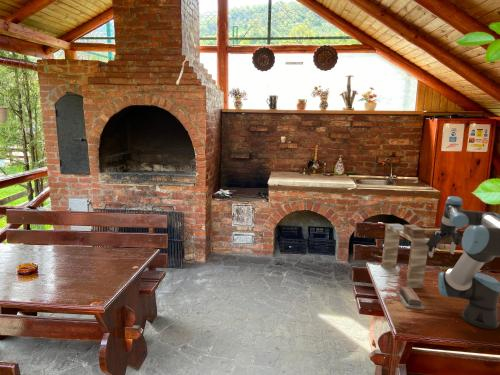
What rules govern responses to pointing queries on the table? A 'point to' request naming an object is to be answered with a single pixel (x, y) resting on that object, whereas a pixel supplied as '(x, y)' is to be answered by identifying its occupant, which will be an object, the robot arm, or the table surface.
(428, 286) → the table surface
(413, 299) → the packaged product
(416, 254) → the frame
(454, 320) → the table surface
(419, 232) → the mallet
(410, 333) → the table surface
